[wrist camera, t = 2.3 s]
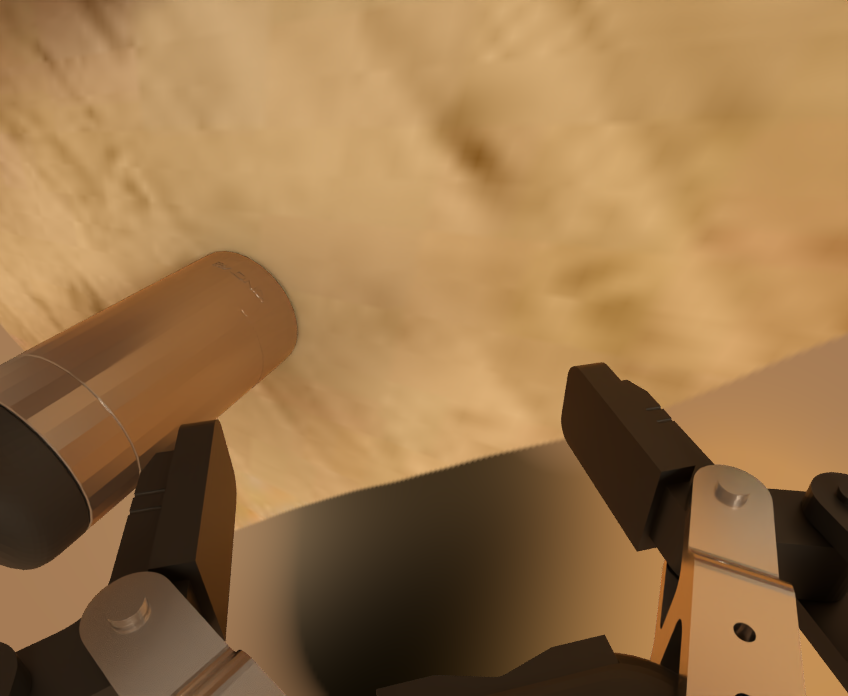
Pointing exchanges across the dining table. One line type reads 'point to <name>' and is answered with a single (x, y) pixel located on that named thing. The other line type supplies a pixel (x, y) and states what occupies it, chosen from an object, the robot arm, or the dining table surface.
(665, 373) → the dining table surface
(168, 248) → the dining table surface
